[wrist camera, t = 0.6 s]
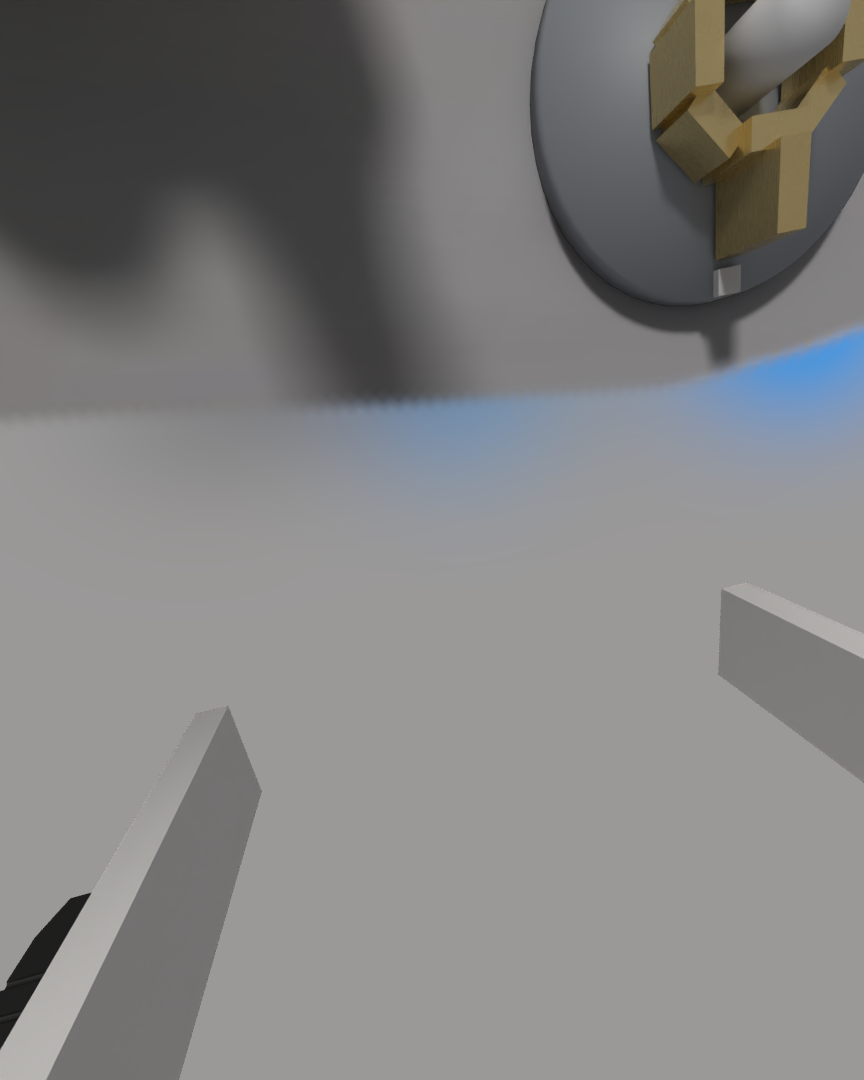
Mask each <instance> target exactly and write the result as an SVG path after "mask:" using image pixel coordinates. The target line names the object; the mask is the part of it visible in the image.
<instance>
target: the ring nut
mask: <svg viewBox="0 0 864 1080" xmlns="http://www.w3.org/2000/svg"><path fill="white" fill-rule="evenodd" d="M747 1H754V2H756V1H757V0H678V1H677V3H676V5H675V6H674V8H673V10H672V11H671V13H670V14H669V16H668V18H667V19H666V21H665V23H664V24H663V26H662V27H661V29H660V31H659V32H658V34H657V36H656V37H655V39H654V40H653V43H654V45H655V48H654V49H653V50H652V52H651V53H650V54H649V59H650V88H651V116H652V131H653V130H659V129H663V130H662V132H661V133H660V135H659V136H658V138H657V139H656V142H657V143H658V144H659V145H660V146H661V147H662V148H663V149H664V150H665V151H666V152H667V154H668V155H669V156H670V157H671V158H672V159H673V160H674V161H675V162H676V163H677V164H678V166H679V167H680V168H681V169H682V170H683V171H684V172H685V173H686V174H687V175H688V176H689V177H690V179H691V180H692V181H693V182H694V183H696V182H697V181H699V180H700V179H701V178H702V185H703V186H704V185H710V184H715V183H716V211H715V261H719V260H724V259H729V258H734V257H739V256H742V255H744V254H746V253H749V252H751V251H753V250H756V249H758V248H760V247H763V246H765V245H767V244H770V243H772V242H774V241H777V240H779V239H781V238H784V237H786V236H788V235H791V234H793V233H795V232H798V231H800V230H802V229H805V228H806V221H807V204H808V187H809V170H810V153H811V136H812V132H813V130H814V129H815V127H816V126H817V125H818V123H819V122H820V120H821V119H822V117H823V116H824V115H825V113H826V112H827V110H828V109H829V107H830V106H831V105H832V103H833V102H834V100H835V99H836V98H837V96H838V95H839V93H840V92H841V90H842V89H843V88H844V86H845V85H846V83H847V82H846V81H845V79H844V78H843V76H844V75H845V74H847V73H848V72H850V71H851V70H852V69H854V68H855V67H857V66H858V65H859V64H861V63H862V62H864V0H851V4H850V9H849V12H848V16H847V18H846V21H845V23H844V25H843V27H842V29H841V30H840V32H839V34H838V35H837V36H836V38H835V39H834V40H833V41H832V42H831V43H830V44H829V45H828V46H826V47H825V48H824V49H823V50H821V51H820V52H819V53H818V54H816V55H815V56H814V57H813V58H811V59H810V60H809V61H808V62H807V63H805V64H804V65H803V66H802V67H800V68H799V69H798V70H797V71H795V72H794V73H793V74H792V75H790V76H789V77H788V78H787V79H785V80H784V81H783V82H782V84H781V101H780V103H779V104H778V106H777V107H776V109H775V110H774V112H772V113H766V114H760V115H755V116H751V117H750V118H749V119H748V120H746V121H745V122H744V123H743V124H742V122H741V121H740V120H739V119H738V118H737V116H736V115H735V114H734V113H733V112H732V110H731V109H730V108H729V107H728V106H727V104H726V103H725V102H724V101H723V100H722V98H721V97H720V96H719V95H718V94H717V92H716V91H715V90H716V89H717V88H718V87H719V86H720V85H721V84H722V83H724V35H725V5H727V4H734V3H740V2H747Z"/></svg>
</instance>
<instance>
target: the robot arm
mask: <svg viewBox="0 0 864 1080" xmlns="http://www.w3.org/2000/svg"><path fill="white" fill-rule="evenodd" d="M720 619H721V620H720V644H719V645H720V646H719V672H718V674H719V675H720V676H721V677H722V678H724V679H725V680H727V681H728V682H729V683H730V684H732V685H733V686H735V687H736V688H737V689H738V690H740V691H741V692H743V693H744V694H745V695H747V696H748V697H749V698H751V699H752V700H753V701H755V702H756V703H757V704H759V705H760V706H761V707H763V708H764V709H765V710H767V711H768V712H769V713H771V714H772V715H773V716H775V717H776V718H778V719H779V720H780V721H782V722H783V723H784V724H786V725H787V726H788V727H790V728H791V729H792V730H794V731H795V732H796V733H798V734H799V735H801V736H802V737H803V738H804V739H806V740H807V741H809V742H810V743H811V744H813V745H814V746H815V747H817V748H818V749H819V750H821V751H822V752H823V753H825V754H826V755H827V756H829V757H830V758H831V759H833V760H834V761H835V762H837V763H838V764H839V765H841V766H842V767H843V768H845V769H846V770H847V771H849V772H850V773H851V774H853V775H854V776H855V777H857V778H858V779H860V780H861V781H862V782H864V634H862V633H860V632H858V631H856V630H853V629H851V628H849V627H846V626H844V625H842V624H840V623H838V622H835V621H833V620H831V619H829V618H826V617H824V616H822V615H820V614H817V613H815V612H813V611H811V610H808V609H806V608H804V607H801V606H799V605H797V604H795V603H792V602H790V601H788V600H786V599H783V598H781V597H779V596H777V595H774V594H772V593H770V592H768V591H765V590H763V589H761V588H759V587H756V586H754V585H752V584H749V583H743V584H740V585H735V586H731V587H727V588H722V590H721V617H720ZM260 795H261V789H260V786H259V783H258V781H257V778H256V776H255V774H254V771H253V768H252V766H251V763H250V761H249V758H248V755H247V753H246V750H245V748H244V745H243V743H242V740H241V738H240V735H239V733H238V730H237V728H236V725H235V722H234V720H233V717H232V715H231V712H230V710H229V707H228V706H226V707H221V708H217V709H213V710H209V711H205V712H200V713H196V714H195V716H194V718H193V720H192V721H191V723H190V725H189V726H188V728H187V730H186V732H185V733H184V735H183V737H182V739H181V740H180V742H179V744H178V745H177V747H176V749H175V751H174V753H173V754H172V756H171V758H170V759H169V761H168V763H167V764H166V766H165V768H164V770H163V771H162V773H161V775H160V777H159V778H158V780H157V782H156V783H155V785H154V787H153V788H152V790H151V792H150V794H149V795H148V797H147V799H146V800H145V802H144V804H143V806H142V807H141V809H140V811H139V812H138V814H137V816H136V818H135V819H134V821H133V823H132V825H131V826H130V828H129V830H128V832H127V833H126V835H125V837H124V838H123V840H122V842H121V843H120V845H119V847H118V849H117V850H116V852H115V854H114V855H113V857H112V859H111V861H110V863H109V864H108V866H107V867H106V869H105V871H104V873H103V874H102V876H101V878H100V879H99V881H98V883H97V885H96V887H95V888H94V890H93V892H92V893H89V894H85V895H81V896H77V897H74V898H71V899H70V900H69V901H68V902H67V903H66V904H65V905H64V906H63V907H62V908H61V909H60V911H59V912H58V913H57V914H56V915H55V916H54V917H53V918H52V919H51V921H50V922H49V923H48V924H47V925H46V926H45V927H44V928H43V929H42V930H41V931H40V933H39V934H38V935H37V936H36V937H35V938H34V940H33V941H32V943H31V945H30V946H29V948H28V949H27V951H26V952H25V954H24V955H23V957H22V959H21V960H20V962H19V963H18V965H17V966H16V968H15V970H14V971H13V973H12V975H11V976H10V977H9V979H8V981H7V986H6V988H5V990H3V991H0V1080H179V1077H180V1074H181V1070H182V1067H183V1063H184V1059H185V1057H186V1053H187V1050H188V1046H189V1043H190V1039H191V1036H192V1032H193V1029H194V1025H195V1021H196V1018H197V1014H198V1011H199V1008H200V1004H201V1001H202V997H203V994H204V990H205V987H206V983H207V980H208V976H209V973H210V969H211V965H212V962H213V959H214V955H215V952H216V948H217V945H218V941H219V938H220V934H221V931H222V927H223V924H224V921H225V917H226V913H227V910H228V907H229V903H230V900H231V896H232V893H233V889H234V886H235V882H236V879H237V875H238V872H239V868H240V865H241V861H242V858H243V854H244V851H245V847H246V844H247V841H248V837H249V833H250V830H251V827H252V823H253V819H254V816H255V813H256V809H257V806H258V802H259V799H260Z"/></svg>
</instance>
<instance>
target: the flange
mask: <svg viewBox="0 0 864 1080" xmlns="http://www.w3.org/2000/svg"><path fill="white" fill-rule="evenodd" d="M677 1H678V0H546V3H545V6H544V9H543V13H542V17H541V21H540V25H539V29H538V33H537V37H536V42H535V49H534V56H533V63H532V70H531V87H530V117H531V134H532V140H533V147H534V153H535V159H536V165H537V168H538V172H539V176H540V179H541V183H542V187H543V190H544V193H545V195H546V198H547V200H548V203H549V206H550V208H551V211H552V213H553V215H554V217H555V219H556V221H557V223H558V225H559V227H560V228H561V230H562V232H563V234H564V236H565V237H566V239H567V240H568V242H569V243H570V244H571V246H572V247H573V249H574V250H575V251H576V253H577V254H578V256H579V257H580V258H581V259H582V260H583V261H584V262H585V263H586V264H587V265H588V266H589V267H590V268H591V269H592V270H593V271H594V272H595V273H596V274H597V275H598V276H600V277H601V278H602V279H604V280H605V281H606V282H607V283H609V284H610V285H611V286H613V287H615V288H617V289H618V290H620V291H622V292H624V293H626V294H627V295H629V296H632V297H635V298H638V299H640V300H643V301H646V302H650V303H655V304H660V305H665V306H690V305H698V304H705V303H708V302H712V301H715V300H719V299H722V298H725V297H728V296H731V295H734V294H738V293H741V292H744V291H746V290H748V289H750V288H753V287H755V286H757V285H759V284H762V283H764V282H766V281H767V280H769V279H771V278H772V277H774V276H775V275H777V274H779V273H780V272H782V271H784V270H785V269H786V268H787V267H789V266H790V265H791V264H792V263H794V262H795V261H796V260H797V259H799V258H800V257H801V256H802V255H803V254H804V253H805V252H806V251H807V250H808V249H809V248H810V247H811V246H812V245H813V244H814V243H815V242H816V241H817V240H818V239H819V238H820V237H821V236H822V235H823V234H824V232H825V231H826V230H827V229H828V228H829V226H830V225H831V224H832V223H833V221H834V220H835V219H836V218H837V216H838V215H839V213H840V212H841V210H842V209H843V207H844V206H845V204H846V203H847V201H848V200H849V198H850V197H851V195H852V193H853V191H854V189H855V188H856V186H857V184H858V182H859V180H860V178H861V176H862V175H863V173H864V62H862V63H861V64H859V65H858V66H857V67H855V68H854V69H852V70H851V71H850V72H848V73H847V74H845V75H844V76H843V78H844V79H845V81H846V82H847V83H846V85H845V86H844V88H843V89H842V90H841V92H840V93H839V95H838V96H837V98H836V99H835V100H834V102H833V103H832V105H831V106H830V107H829V109H828V110H827V112H826V113H825V115H824V116H823V117H822V119H821V120H820V122H819V123H818V125H817V126H816V127H815V129H814V130H813V132H812V136H811V153H810V170H809V187H808V204H807V221H806V228H805V229H802V230H800V231H798V232H795V233H793V234H791V235H788V236H786V237H784V238H781V239H779V240H777V241H774V242H772V243H770V244H767V245H765V246H763V247H760V248H758V249H756V250H753V251H751V252H749V253H746V254H744V255H742V256H739V257H734V258H729V259H724V260H719V261H715V211H716V183H715V184H710V185H704V186H703V185H702V178H701V179H700V180H699V181H697V182H696V183H694V182H693V181H692V180H691V179H690V177H689V176H688V175H687V174H686V173H685V172H684V171H683V170H682V169H681V168H680V167H679V166H678V164H677V163H676V162H675V161H674V160H673V159H672V158H671V157H670V156H669V155H668V154H667V152H666V151H665V150H664V149H663V148H662V147H661V146H660V145H659V144H658V143H657V142H656V139H657V138H658V136H659V135H660V133H661V132H662V130H663V129H659V130H653V131H652V116H651V88H650V59H649V54H650V53H651V52H652V50H653V49H654V48H655V45H654V43H653V40H654V39H655V37H656V36H657V34H658V32H659V31H660V29H661V27H662V26H663V24H664V23H665V21H666V19H667V18H668V16H669V14H670V13H671V11H672V10H673V8H674V6H675V5H676V3H677ZM850 4H851V0H757V1H756V2H754V1H747V2H740V3H734V4H727V5H725V35H724V83H722V84H721V85H720V86H719V87H718V88H717V89H716V90H715V91H716V92H717V94H718V95H719V96H720V97H721V98H722V100H723V101H724V102H725V103H726V104H727V106H728V107H729V108H730V109H731V110H732V112H733V113H734V114H735V115H736V116H737V118H738V119H739V120H740V121H741V122H742V124H743V123H744V122H745V121H746V120H748V119H749V118H750V117H751V116H755V115H760V114H766V113H772V112H774V110H775V109H776V107H777V106H778V104H779V103H780V101H781V84H782V82H783V81H784V80H785V79H787V78H788V77H789V76H790V75H792V74H793V73H794V72H795V71H797V70H798V69H799V68H800V67H802V66H803V65H804V64H805V63H807V62H808V61H809V60H810V59H811V58H813V57H814V56H815V55H816V54H818V53H819V52H820V51H821V50H823V49H824V48H825V47H826V46H828V45H829V44H830V43H831V42H832V41H833V40H834V39H835V38H836V36H837V35H838V34H839V32H840V30H841V29H842V27H843V25H844V23H845V21H846V18H847V16H848V12H849V9H850Z"/></svg>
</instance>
